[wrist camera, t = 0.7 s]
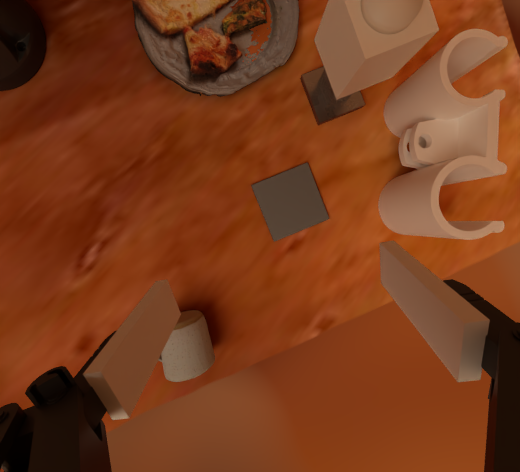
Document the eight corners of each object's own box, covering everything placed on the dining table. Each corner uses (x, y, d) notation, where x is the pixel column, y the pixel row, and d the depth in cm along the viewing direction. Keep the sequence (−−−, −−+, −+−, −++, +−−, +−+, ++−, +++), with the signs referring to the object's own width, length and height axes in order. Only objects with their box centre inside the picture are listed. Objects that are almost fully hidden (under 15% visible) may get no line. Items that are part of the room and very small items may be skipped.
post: (300, 78, 40) (319, 24, 29) (345, 60, 40) (381, 0, 29) (318, 125, 41) (343, 89, 30) (362, 107, 41) (404, 65, 30)
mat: (251, 185, 41) (251, 185, 40) (306, 163, 41) (307, 162, 40) (274, 241, 41) (274, 241, 41) (328, 218, 42) (329, 218, 41)
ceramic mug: (207, 303, 41) (196, 321, 34) (218, 348, 42) (211, 377, 34) (145, 318, 41) (120, 340, 34) (158, 363, 42) (136, 395, 34)
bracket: (379, 85, 41) (435, 27, 29) (436, 86, 41) (514, 29, 29) (377, 235, 42) (429, 240, 30) (432, 234, 43) (504, 239, 31)
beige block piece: (314, 40, 32) (340, -33, 23) (371, 17, 32) (419, -64, 23) (336, 99, 32) (370, 52, 23) (392, 77, 32) (447, 21, 23)
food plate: (188, 125, 40) (183, 115, 36) (109, -7, 38) (96, -31, 35) (320, 50, 41) (327, 33, 37) (247, -81, 39) (248, -112, 36)
